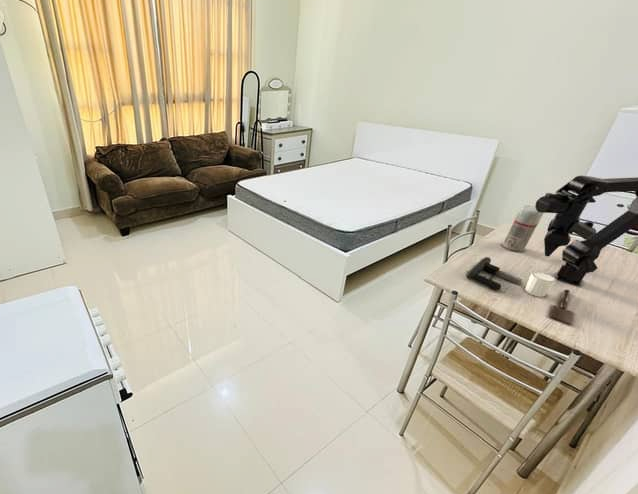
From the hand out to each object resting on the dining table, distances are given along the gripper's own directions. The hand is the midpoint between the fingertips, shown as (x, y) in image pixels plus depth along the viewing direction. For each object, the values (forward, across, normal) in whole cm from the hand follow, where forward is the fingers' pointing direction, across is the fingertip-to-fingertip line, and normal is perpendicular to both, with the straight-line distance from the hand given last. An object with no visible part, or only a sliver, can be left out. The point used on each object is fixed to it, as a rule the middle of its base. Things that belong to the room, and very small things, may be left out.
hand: (547, 251), depth 119 cm
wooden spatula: (+12, -15, -9) cm, 21 cm away
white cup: (+12, -12, -2) cm, 17 cm away
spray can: (+12, +25, +10) cm, 29 cm away
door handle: (+12, -11, +12) cm, 20 cm away
